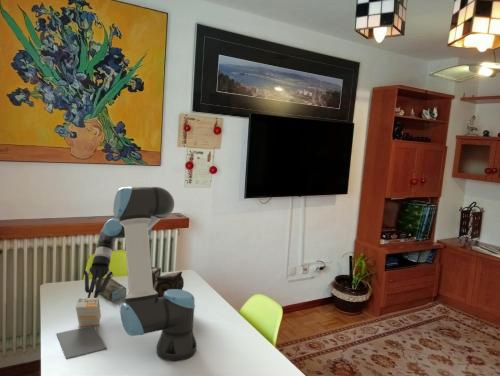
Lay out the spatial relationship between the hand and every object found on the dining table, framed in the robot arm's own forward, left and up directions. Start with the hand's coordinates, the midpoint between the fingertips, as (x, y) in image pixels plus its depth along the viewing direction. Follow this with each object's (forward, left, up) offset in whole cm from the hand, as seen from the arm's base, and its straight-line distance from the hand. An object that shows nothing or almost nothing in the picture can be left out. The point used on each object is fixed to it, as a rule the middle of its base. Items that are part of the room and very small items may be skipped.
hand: (89, 308), depth 161 cm
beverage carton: (+26, -16, -7) cm, 32 cm away
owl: (-6, -33, -7) cm, 34 cm away
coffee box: (+10, -31, -7) cm, 34 cm away
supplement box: (-1, 0, -6) cm, 6 cm away
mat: (-14, +6, -7) cm, 17 cm away
